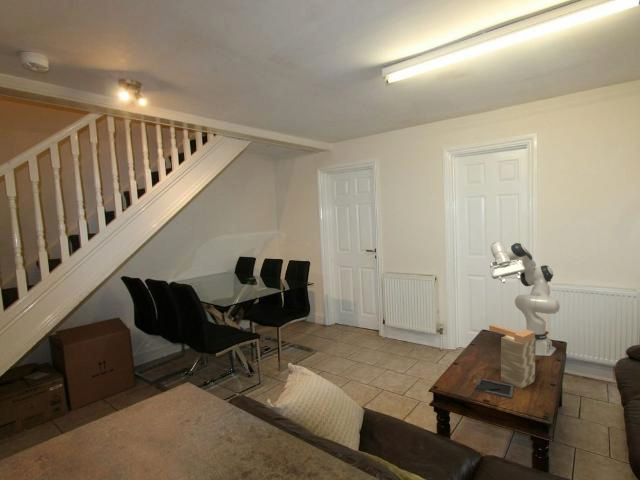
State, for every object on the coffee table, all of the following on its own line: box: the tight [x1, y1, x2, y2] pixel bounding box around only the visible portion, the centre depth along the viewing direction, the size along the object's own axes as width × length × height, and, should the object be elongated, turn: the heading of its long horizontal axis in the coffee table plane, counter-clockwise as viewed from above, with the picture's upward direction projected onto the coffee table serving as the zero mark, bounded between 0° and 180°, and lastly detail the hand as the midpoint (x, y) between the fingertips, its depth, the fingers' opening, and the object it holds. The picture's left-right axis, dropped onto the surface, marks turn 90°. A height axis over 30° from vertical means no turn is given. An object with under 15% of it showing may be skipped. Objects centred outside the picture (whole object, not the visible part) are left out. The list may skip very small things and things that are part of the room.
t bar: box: [488, 323, 535, 344], centre depth 204 cm, size 12×23×4 cm, turn 31°
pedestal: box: [500, 335, 536, 390], centre depth 201 cm, size 14×12×26 cm
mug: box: [535, 357, 540, 379], centre depth 209 cm, size 12×8×9 cm, turn 117°
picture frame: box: [475, 377, 515, 400], centre depth 196 cm, size 13×2×18 cm
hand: (511, 280), depth 224 cm, fingers open, 8 cm apart
